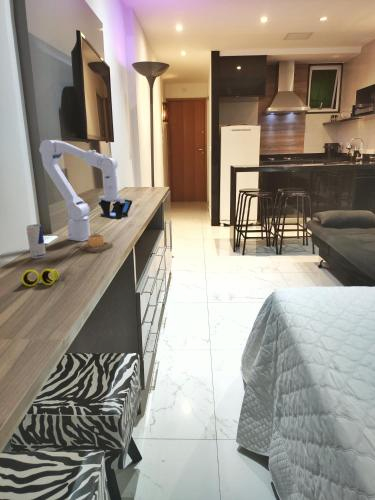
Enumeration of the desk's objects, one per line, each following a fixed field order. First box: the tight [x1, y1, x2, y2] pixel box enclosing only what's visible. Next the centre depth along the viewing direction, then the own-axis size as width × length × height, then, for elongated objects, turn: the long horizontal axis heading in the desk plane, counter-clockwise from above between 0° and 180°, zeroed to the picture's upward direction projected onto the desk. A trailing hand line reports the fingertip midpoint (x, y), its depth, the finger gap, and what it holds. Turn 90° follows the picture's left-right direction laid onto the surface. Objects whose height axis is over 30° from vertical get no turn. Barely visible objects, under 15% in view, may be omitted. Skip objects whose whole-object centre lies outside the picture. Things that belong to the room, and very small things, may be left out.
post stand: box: [79, 233, 114, 253], centre depth 146 cm, size 9×9×6 cm
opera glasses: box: [21, 268, 59, 287], centre depth 110 cm, size 10×5×5 cm, turn 96°
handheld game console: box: [100, 199, 133, 220], centre depth 213 cm, size 16×13×9 cm
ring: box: [88, 234, 105, 247], centre depth 146 cm, size 6×6×4 cm
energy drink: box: [26, 223, 47, 259], centre depth 136 cm, size 5×5×12 cm
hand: (113, 218), depth 158 cm, fingers open, 7 cm apart
